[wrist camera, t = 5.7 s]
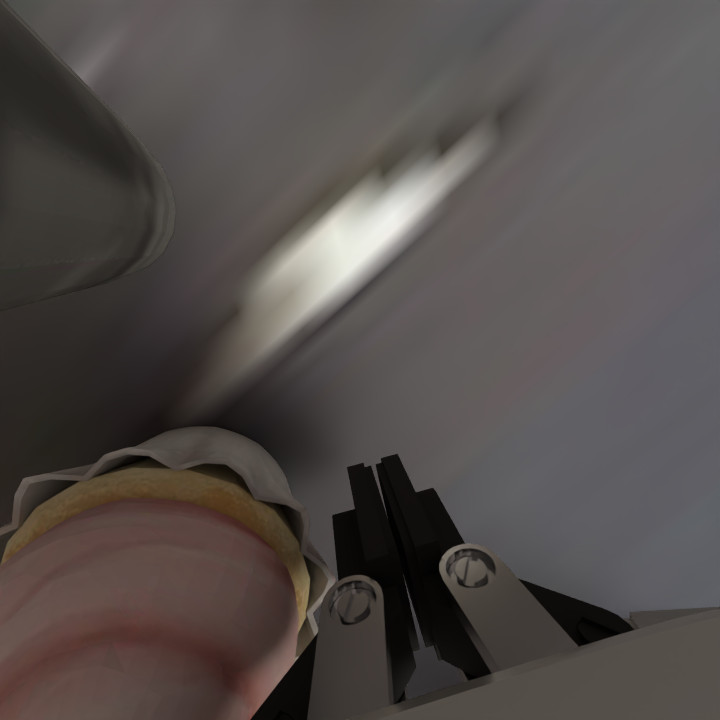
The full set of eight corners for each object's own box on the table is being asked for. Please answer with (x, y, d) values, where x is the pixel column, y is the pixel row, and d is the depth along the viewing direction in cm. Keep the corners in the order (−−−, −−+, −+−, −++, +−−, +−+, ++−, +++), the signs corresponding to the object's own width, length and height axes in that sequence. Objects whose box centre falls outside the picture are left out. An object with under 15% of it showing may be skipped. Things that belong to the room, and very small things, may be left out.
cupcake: (106, 614, 15) (-235, 1196, 6) (48, 397, 13) (-681, 764, 3) (335, 582, 16) (371, 1028, 7) (319, 375, 14) (338, 610, 4)
